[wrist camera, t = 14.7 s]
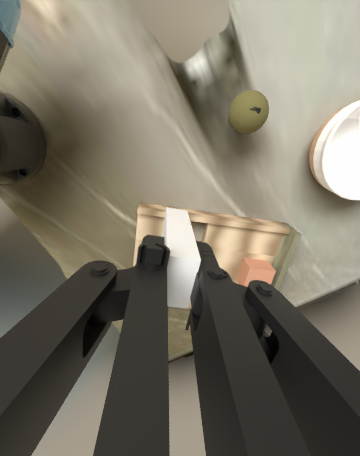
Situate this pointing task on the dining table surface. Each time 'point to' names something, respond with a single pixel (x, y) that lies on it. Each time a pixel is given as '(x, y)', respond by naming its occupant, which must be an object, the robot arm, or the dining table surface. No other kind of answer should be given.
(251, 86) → the dining table surface
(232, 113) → the light bulb
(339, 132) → the bowl
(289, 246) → the box
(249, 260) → the block
